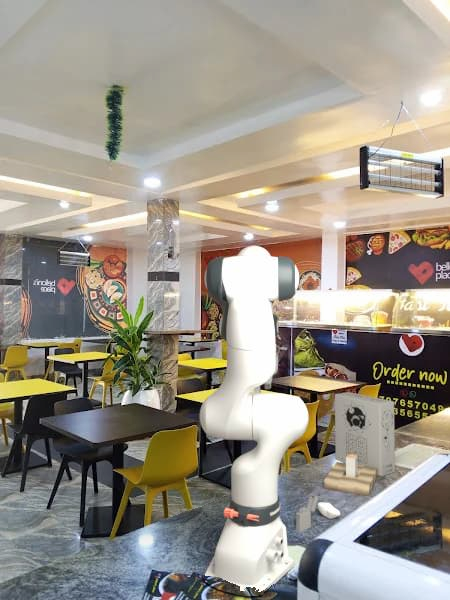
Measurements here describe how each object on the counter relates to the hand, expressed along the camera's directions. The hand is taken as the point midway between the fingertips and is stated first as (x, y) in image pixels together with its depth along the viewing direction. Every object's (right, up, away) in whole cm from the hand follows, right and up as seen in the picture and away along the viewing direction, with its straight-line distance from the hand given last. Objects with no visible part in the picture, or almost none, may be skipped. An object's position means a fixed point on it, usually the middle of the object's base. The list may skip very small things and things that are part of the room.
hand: (262, 391), depth 156 cm
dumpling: (+17, -31, -23) cm, 42 cm away
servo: (+30, -30, +1) cm, 42 cm away
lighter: (+10, -31, -29) cm, 44 cm away
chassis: (+30, -31, +1) cm, 43 cm away
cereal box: (+39, -31, +17) cm, 52 cm away
